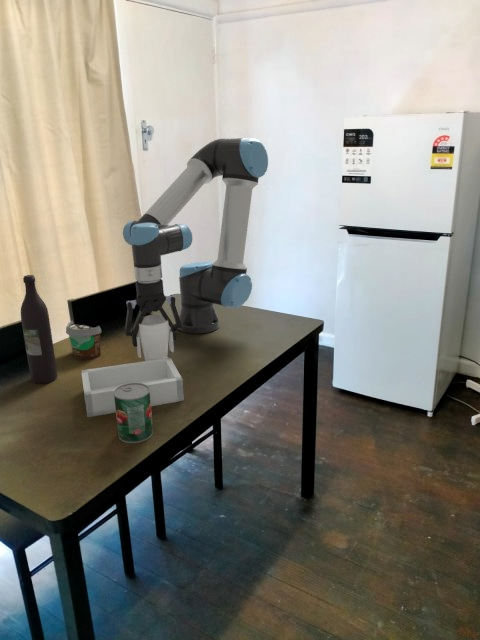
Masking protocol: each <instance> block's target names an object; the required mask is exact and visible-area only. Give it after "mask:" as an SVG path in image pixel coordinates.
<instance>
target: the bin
mask: <svg viewBox="0 0 480 640" xmlns="http://www.w3.org/2000/svg"><path fill="white" fill-rule="evenodd" d="M80 372H81V380H82V388H83V395H84V404H85V410H86V418H91V417H92V418H94V417H97V416H98V417H99V416H103V415H104V416H105V415H110V414H114V413H115V414H116V408H115V399H114V391H115V389H116V388H118V387H119V386H121V385H124V384H128V383H142V384H145V385H147V386H148V387H149V388H150V400H151V407H154V406H155V407H156V406H162V405H166V404H171V403H177V402H178V403H179V402H183V401H184V400H185V399H184V397H185V395H184V380H183V377H182V375H181V374H180V373H179V372H180V371H178V369H177V367H176V365H175V363H174V362H173V360H172V358H171V357H167V358H163V359H156V360H149V361H146V360H144V361H143V360H142V361H136V362H131V363H123V364H116V365H109V366H104V367H96V368H88V369H81V370H80Z"/></svg>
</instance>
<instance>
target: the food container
mask: <svg viewBox="0 0 480 640" xmlns="http://www.w3.org/2000/svg"><path fill="white" fill-rule="evenodd" d="M65 328H66V329H65V333H66V334H67V335H68V337H69V342H70V346H71V350H72V355H73V357H74V358H75V359H79V360H91V359H95V358H99V357H101V354H102V353H101V352H102V351H101V334H102V328H101V327H100V325H98V326H96V327H92V326H90V325H87V324H77V323H74V322H73V320H71V321H70V322H68V323H67V325H66V327H65Z"/></svg>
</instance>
